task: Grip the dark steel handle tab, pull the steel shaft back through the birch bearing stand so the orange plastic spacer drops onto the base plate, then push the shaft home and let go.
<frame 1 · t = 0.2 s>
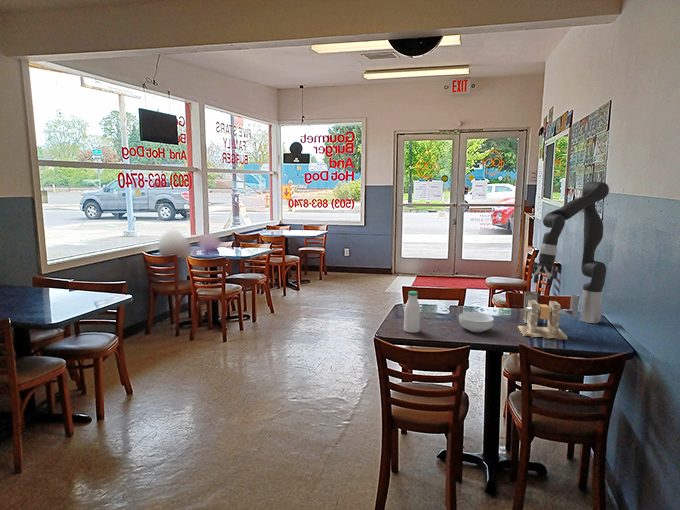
hand: (542, 284, 250), 23 cm above the table, tool pointing down, fingers open, 8 cm apart
shaft: (551, 304, 241), point 15 cm above the table, slide at 0.0 cm, touching spacer
stand: (541, 333, 243), on the table
milk bottle: (411, 331, 245), on the table
cereal bowl: (475, 330, 248), on the table
spacer: (542, 317, 242), point 8 cm above the table, touching shaft
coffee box: (530, 322, 263), on the table
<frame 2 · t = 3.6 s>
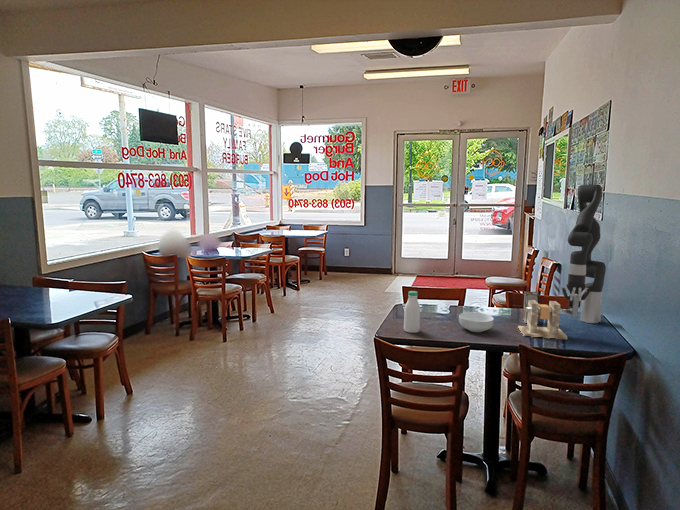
hand: (573, 307, 239), 14 cm above the table, tool pointing down, fingers closed on shaft, 2 cm apart
shaft: (551, 304, 241), point 15 cm above the table, slide at 0.0 cm, touching gripper, spacer
everything else where it was.
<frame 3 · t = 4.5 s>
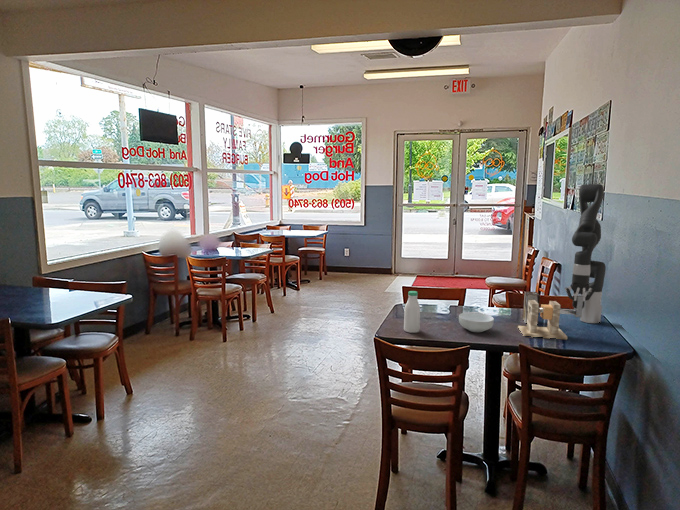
hand: (577, 307, 239), 14 cm above the table, tool pointing down, fingers closed on shaft, 2 cm apart
shaft: (555, 305, 240), point 15 cm above the table, slide at 1.9 cm, touching gripper
spacer: (546, 317, 242), point 8 cm above the table
everything else where it was.
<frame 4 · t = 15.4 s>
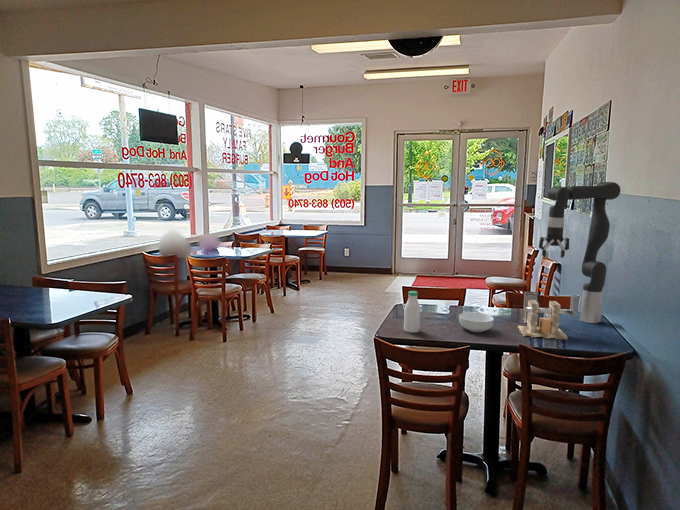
hand: (552, 257, 254), 36 cm above the table, tool pointing down, fingers open, 8 cm apart
shaft: (551, 304, 241), point 15 cm above the table, slide at 0.1 cm
spacer: (544, 331, 243), point 1 cm above the table, touching stand
everything else where it was.
at the end: spacer inside the target area on the stand (1.2 cm from its centre), point 1.5 cm above the stand's base; spacer touching stand; shaft slide at 0.1 cm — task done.
